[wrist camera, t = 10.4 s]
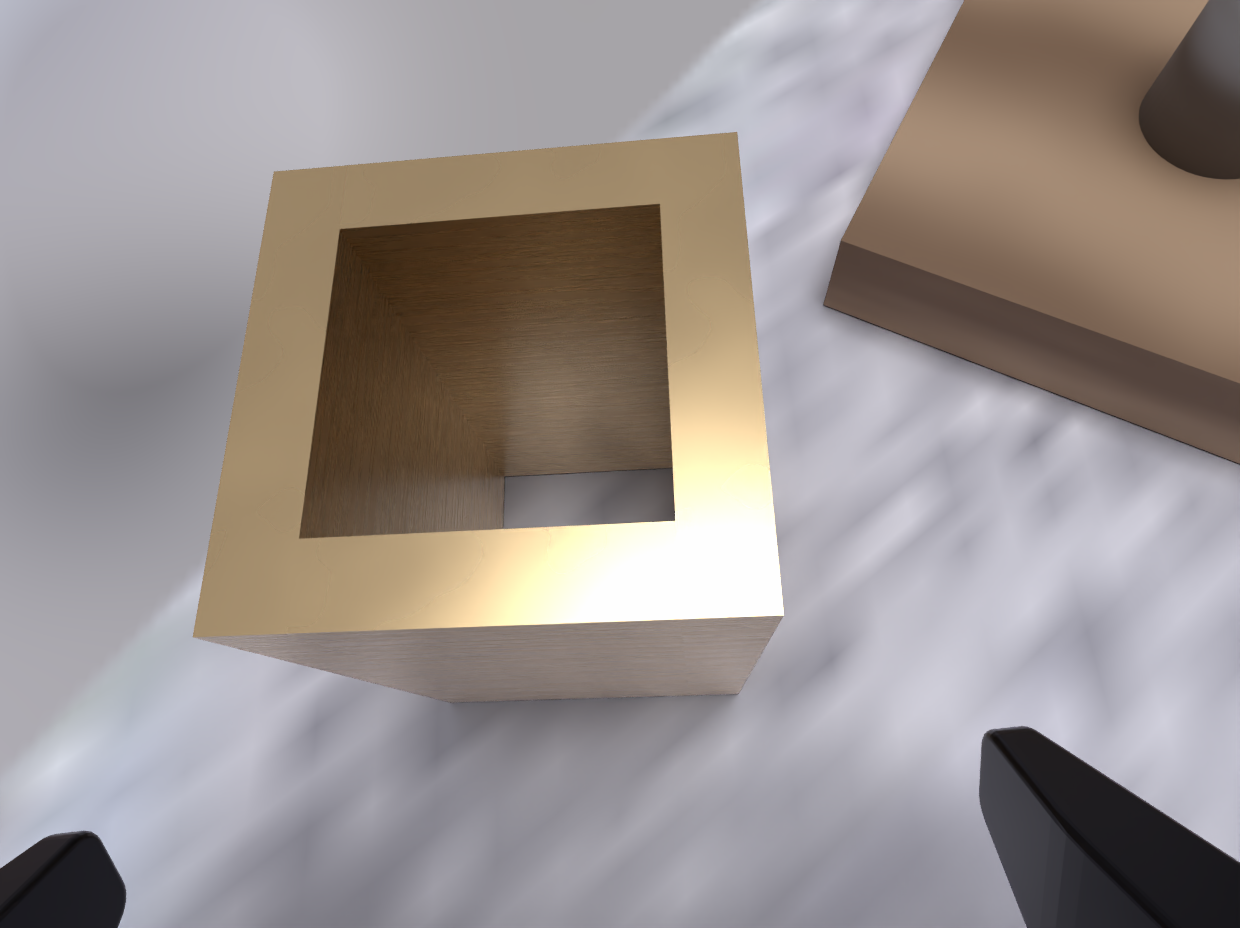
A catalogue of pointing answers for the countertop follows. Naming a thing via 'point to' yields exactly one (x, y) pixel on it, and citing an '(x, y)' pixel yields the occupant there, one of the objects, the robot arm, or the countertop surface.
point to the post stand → (1070, 209)
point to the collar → (500, 426)
